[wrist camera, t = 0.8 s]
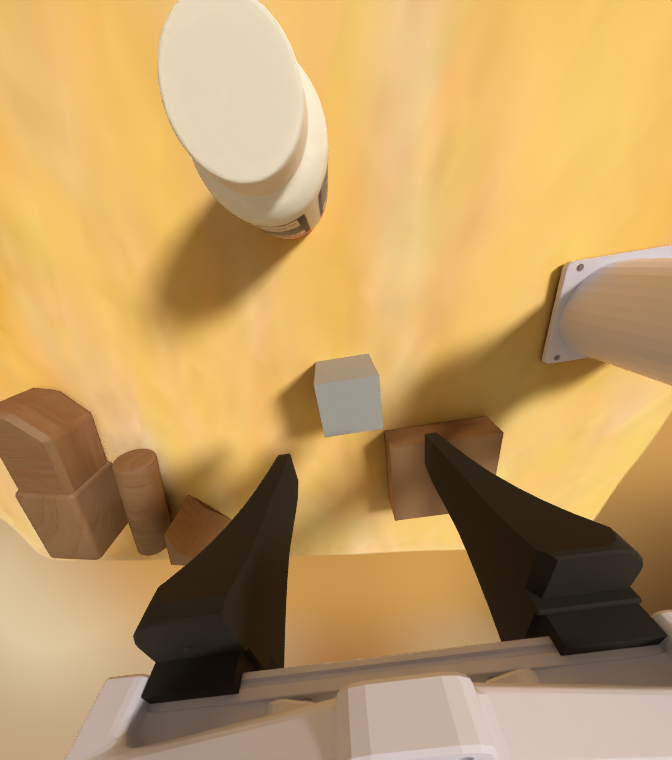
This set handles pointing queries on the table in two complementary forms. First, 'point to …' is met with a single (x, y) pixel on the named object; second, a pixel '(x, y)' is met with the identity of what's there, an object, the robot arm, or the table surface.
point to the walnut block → (407, 461)
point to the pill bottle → (245, 113)
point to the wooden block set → (92, 485)
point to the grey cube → (348, 395)
